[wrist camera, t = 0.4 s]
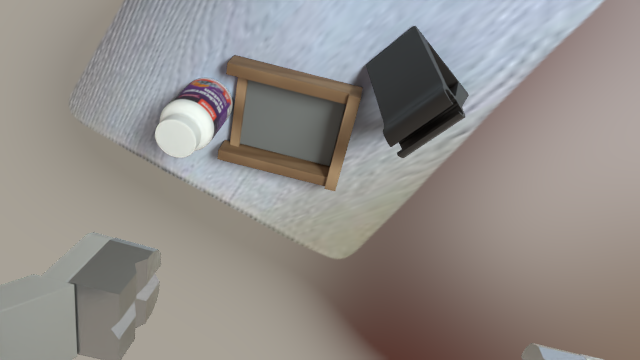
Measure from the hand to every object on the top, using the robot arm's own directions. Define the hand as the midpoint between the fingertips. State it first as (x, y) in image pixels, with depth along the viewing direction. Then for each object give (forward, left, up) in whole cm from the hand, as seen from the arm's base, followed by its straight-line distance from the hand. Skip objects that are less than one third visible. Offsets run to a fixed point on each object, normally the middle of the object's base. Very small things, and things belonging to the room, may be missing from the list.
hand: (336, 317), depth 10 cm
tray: (+15, -6, -39) cm, 42 cm away
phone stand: (+7, +6, -39) cm, 40 cm away
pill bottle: (+15, -15, -39) cm, 45 cm away
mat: (+15, -6, -39) cm, 42 cm away
